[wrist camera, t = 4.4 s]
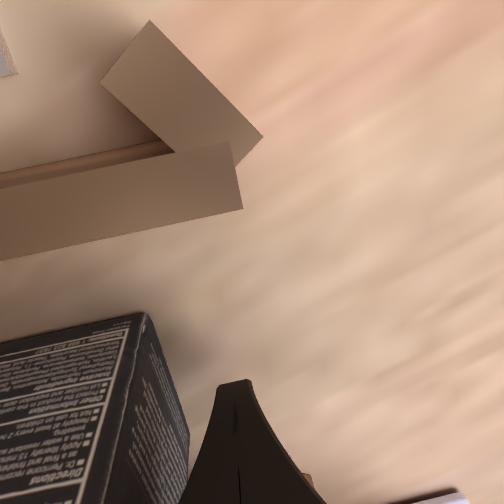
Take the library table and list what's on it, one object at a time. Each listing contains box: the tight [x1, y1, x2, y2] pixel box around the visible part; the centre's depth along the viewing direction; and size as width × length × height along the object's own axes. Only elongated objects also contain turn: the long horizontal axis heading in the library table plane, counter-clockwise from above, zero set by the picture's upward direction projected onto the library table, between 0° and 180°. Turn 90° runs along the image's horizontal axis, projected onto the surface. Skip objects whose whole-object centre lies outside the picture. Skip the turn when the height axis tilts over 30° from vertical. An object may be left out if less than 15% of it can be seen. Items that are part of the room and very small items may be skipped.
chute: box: [0, 20, 314, 488], centre depth 13 cm, size 20×15×4 cm
